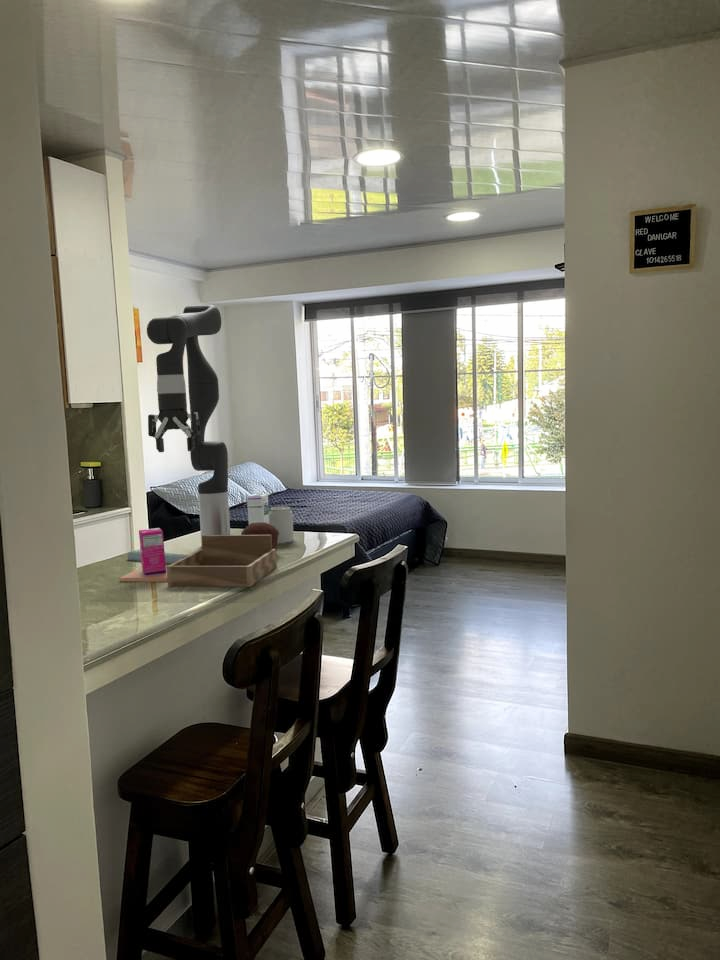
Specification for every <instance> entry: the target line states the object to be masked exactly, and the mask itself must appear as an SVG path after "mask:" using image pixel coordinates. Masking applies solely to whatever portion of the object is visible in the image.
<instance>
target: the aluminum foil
mask: <svg viewBox="0 0 720 960" xmlns="http://www.w3.org/2000/svg"><path fill="white" fill-rule="evenodd" d="M188 555H189V554H184V553H183V554H182V553H181V554H180V553H170V552H165V563H166V564H167V565H171V564H173V563H175V562H177V561H178V560H180V559H182V558H184V557H186V556H188ZM127 559H128V560H130V561H138V562H142V561H141V550H134V549H133V550H132V549H131V550H129V552H128V553H127Z"/></svg>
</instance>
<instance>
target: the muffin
mask: <svg viewBox="0 0 720 960" xmlns="http://www.w3.org/2000/svg"><path fill="white" fill-rule="evenodd" d="M279 534H280V533H279V532H278V530H277V529H276V528H275V527H274V526H272V525H271V524H269V523H264V522H258V523H253V524H250V525H249V524H248V525H247V526H246V527H245V528H243V530H242V531H241V534H240V535H272V549H276V552H277V549H278V543H277V541H278V536H279Z"/></svg>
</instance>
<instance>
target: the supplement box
mask: <svg viewBox="0 0 720 960" xmlns="http://www.w3.org/2000/svg"><path fill="white" fill-rule="evenodd" d="M138 538H139V549H140V550H139V551H141V561H140V562H141V567H142V571H143V572H144V574H145V575H151V574H159V573H166V567H167V565H166V563H165V553H166V552H165V543H164V532H163V530H162V529H161V528H160V527H155V528H154V527H153V528H147V529H139V530H138Z"/></svg>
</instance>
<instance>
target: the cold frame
mask: <svg viewBox="0 0 720 960" xmlns="http://www.w3.org/2000/svg"><path fill="white" fill-rule="evenodd" d="M187 555H188V556H186V557H184V558H182V559H180V560H178V561H177V562H175V563H173V564H168V565H166V567H167V586H168V587H246V588H247V587H250V588H251V587H253V586H254V585H256V583H258V582H259V581H261V579H263V578H264V577H265V576H266V575H268V574H270V573H271V572H272V571H273V570H275V569H276V568H277V565H278V564H277V563H278V562H277V551H276V549H272V535H241V534H230V535H202V545H201V549H198V550H196V551H195V552H192V553H191V554H187Z"/></svg>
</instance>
